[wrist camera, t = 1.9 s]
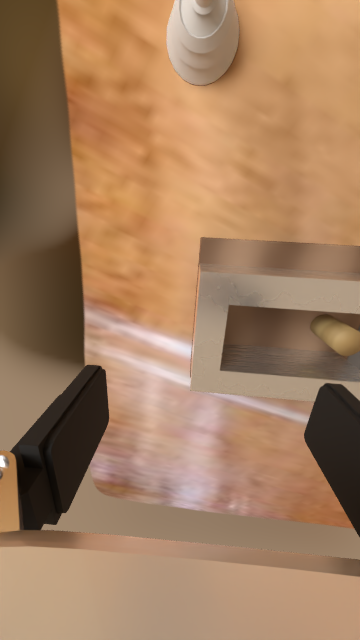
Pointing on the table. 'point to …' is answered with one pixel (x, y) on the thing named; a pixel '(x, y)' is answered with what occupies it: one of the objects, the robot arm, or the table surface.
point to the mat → (355, 358)
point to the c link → (268, 362)
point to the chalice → (202, 39)
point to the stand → (286, 324)
